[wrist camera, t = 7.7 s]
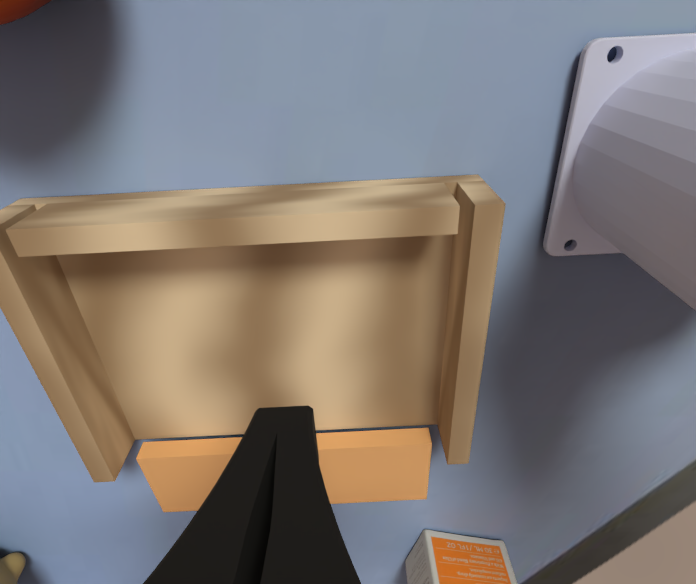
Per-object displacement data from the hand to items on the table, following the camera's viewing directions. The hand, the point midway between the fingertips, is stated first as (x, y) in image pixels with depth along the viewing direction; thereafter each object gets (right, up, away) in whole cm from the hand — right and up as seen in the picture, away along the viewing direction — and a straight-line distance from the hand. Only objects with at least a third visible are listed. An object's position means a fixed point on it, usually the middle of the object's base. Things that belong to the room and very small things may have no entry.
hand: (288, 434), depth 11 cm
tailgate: (-2, -4, +12) cm, 13 cm away
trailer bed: (-2, +2, +10) cm, 10 cm away
